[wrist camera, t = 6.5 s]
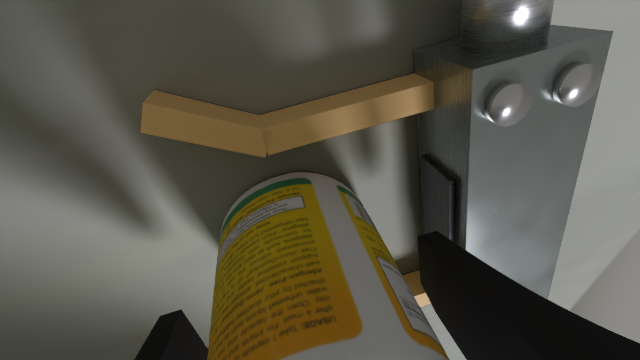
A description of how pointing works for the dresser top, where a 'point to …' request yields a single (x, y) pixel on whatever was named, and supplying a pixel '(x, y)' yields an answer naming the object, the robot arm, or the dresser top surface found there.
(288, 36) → the dresser top surface
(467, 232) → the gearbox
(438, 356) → the supplement bottle
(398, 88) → the guard rails
